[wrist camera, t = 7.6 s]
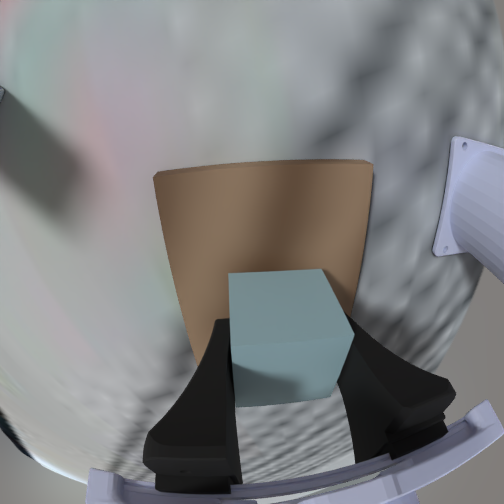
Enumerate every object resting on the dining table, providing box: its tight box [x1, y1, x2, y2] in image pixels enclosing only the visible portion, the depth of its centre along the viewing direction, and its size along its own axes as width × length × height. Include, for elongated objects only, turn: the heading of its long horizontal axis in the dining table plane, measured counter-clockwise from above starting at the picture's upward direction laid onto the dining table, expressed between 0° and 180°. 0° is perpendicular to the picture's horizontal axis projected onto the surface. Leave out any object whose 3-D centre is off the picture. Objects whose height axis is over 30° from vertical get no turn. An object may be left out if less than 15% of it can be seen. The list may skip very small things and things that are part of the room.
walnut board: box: [153, 159, 373, 366], centre depth 15 cm, size 10×14×1 cm
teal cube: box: [228, 269, 355, 407], centre depth 12 cm, size 4×4×4 cm
